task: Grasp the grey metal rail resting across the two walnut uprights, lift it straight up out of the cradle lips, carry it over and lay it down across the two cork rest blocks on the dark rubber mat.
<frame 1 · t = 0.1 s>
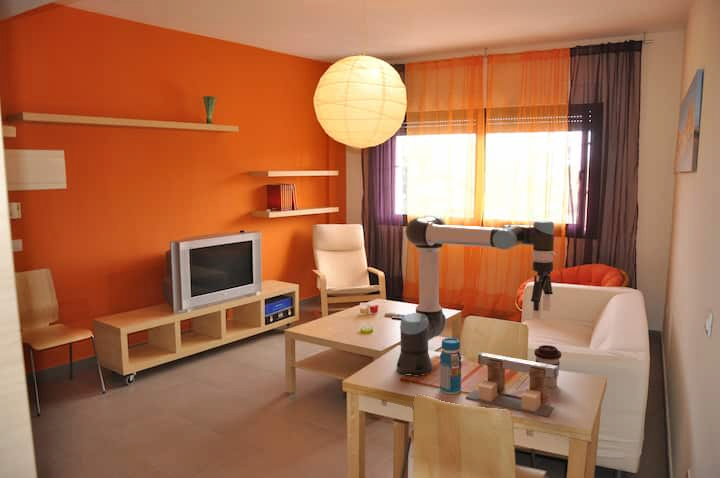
hand: (541, 314, 216), 28 cm above the table, fingers open, 13 cm apart
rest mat: (508, 403, 201), on the table
rail: (517, 369, 207), point 10 cm above the table, touching wall rack
wall rack: (516, 394, 208), on the table
beverage bottle: (450, 390, 214), on the table
coffee cup: (546, 384, 218), on the table
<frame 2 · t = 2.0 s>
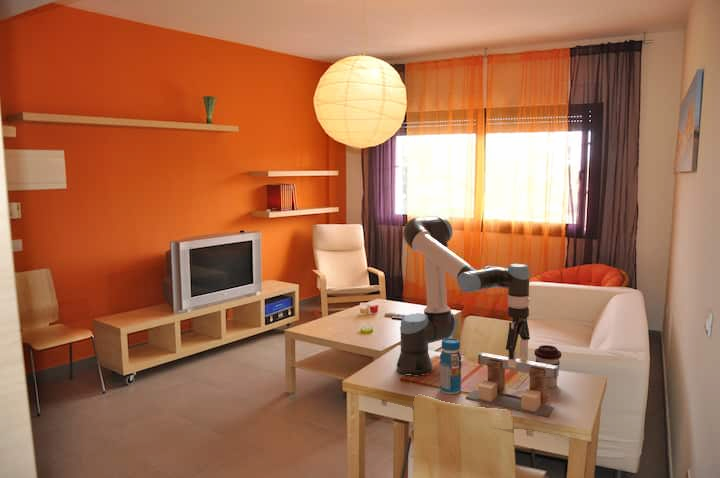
hand: (517, 361, 207), 13 cm above the table, fingers open, 13 cm apart
nothing on the table moved.
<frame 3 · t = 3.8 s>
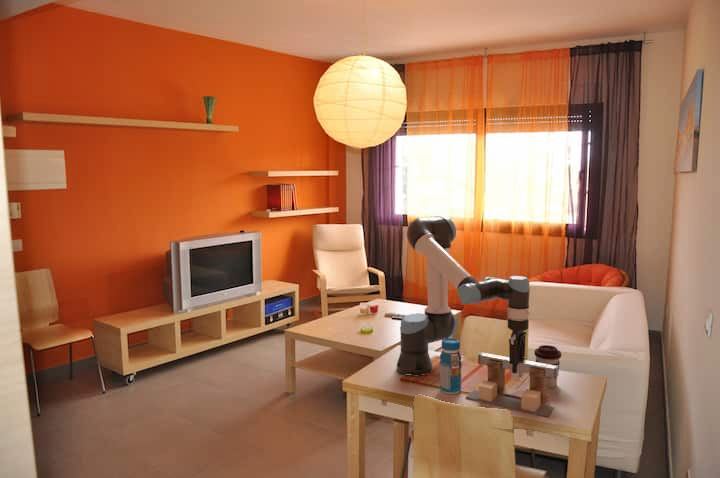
hand: (516, 378, 208), 6 cm above the table, fingers closed on rail, 3 cm apart
rail: (517, 369, 207), point 10 cm above the table, touching gripper, wall rack
everything else where it was.
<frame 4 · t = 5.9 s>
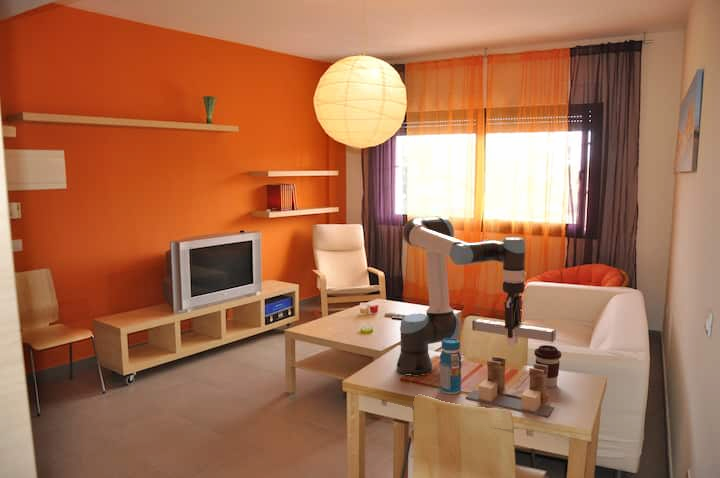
hand: (512, 344, 200), 22 cm above the table, fingers closed on rail, 3 cm apart
rail: (512, 334, 200), point 25 cm above the table, touching gripper
everything else where it was.
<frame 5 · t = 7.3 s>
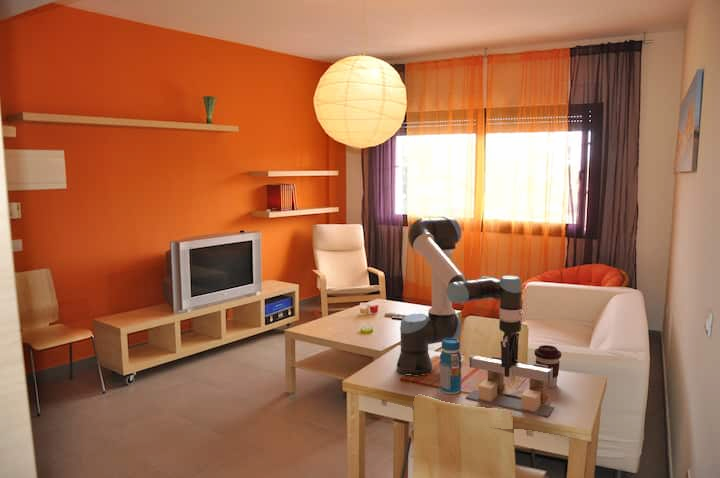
hand: (509, 382, 200), 8 cm above the table, fingers closed on rail, 3 cm apart
rail: (509, 372, 199), point 12 cm above the table, touching gripper
everything else where it was.
when the fingers open (3 cm above the table, at t = 8.4 s): rail drops 1 cm, resting on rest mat.
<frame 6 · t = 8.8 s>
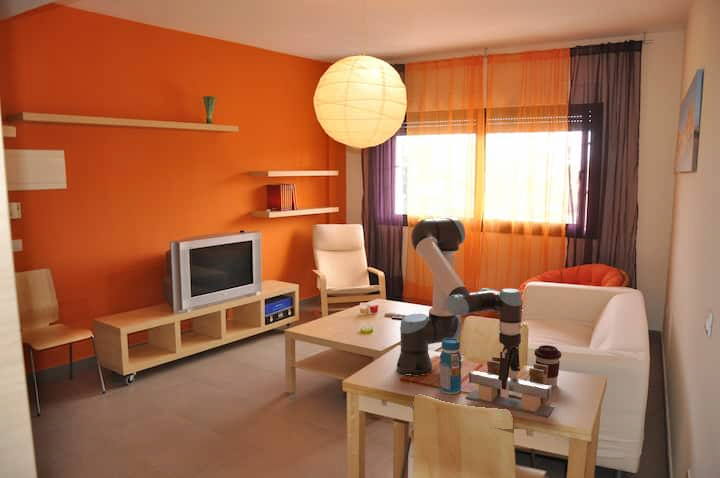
hand: (508, 392, 201), 4 cm above the table, fingers open, 9 cm apart
rail: (509, 388, 200), point 6 cm above the table, touching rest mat
everything else where it was.
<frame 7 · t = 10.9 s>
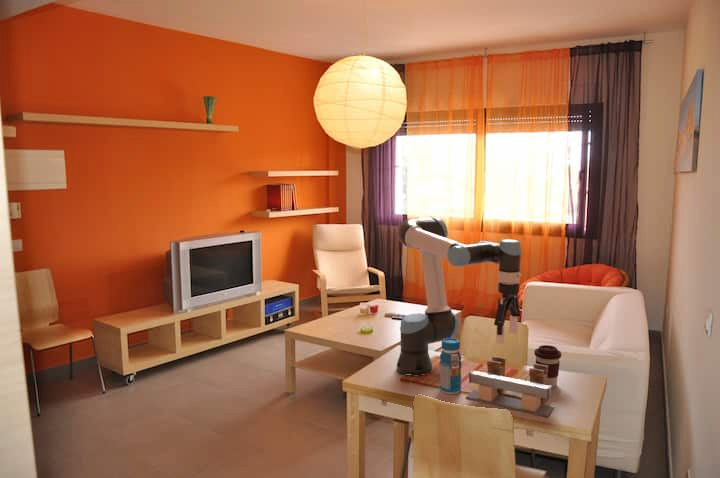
hand: (506, 337, 205), 22 cm above the table, fingers open, 13 cm apart
nothing on the table moved.
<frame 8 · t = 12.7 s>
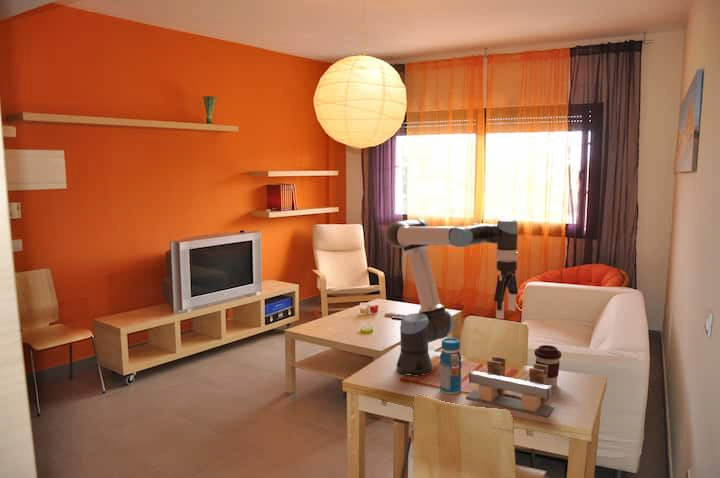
hand: (505, 314, 214), 29 cm above the table, fingers open, 13 cm apart
nothing on the table moved.
at the end: rail inside the target area on the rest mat (0.0 cm from its centre), point 5.6 cm above the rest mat's base; rail touching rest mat; the gripper is holding nothing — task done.
